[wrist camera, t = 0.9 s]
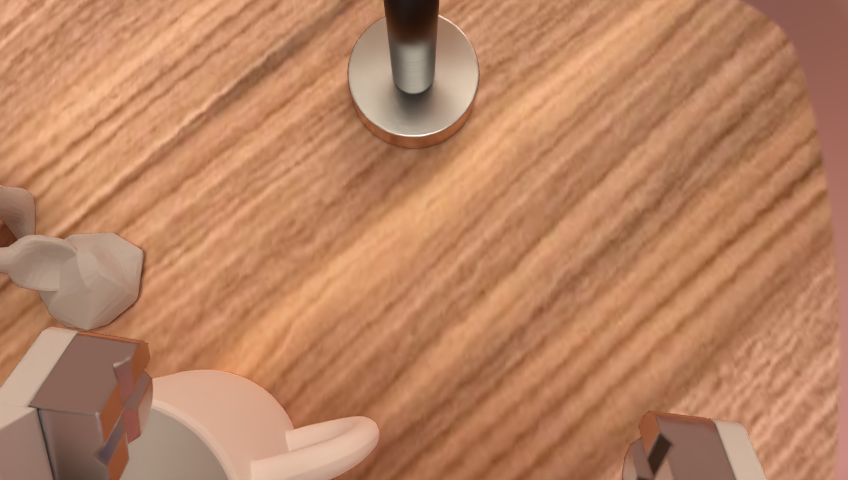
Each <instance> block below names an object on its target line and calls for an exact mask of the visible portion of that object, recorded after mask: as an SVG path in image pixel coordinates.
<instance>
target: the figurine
mask: <svg viewBox="0 0 848 480" xmlns="http://www.w3.org/2000/svg"><path fill="white" fill-rule="evenodd" d="M0 220H3V222H4V223H5V224H6V225H7V226H8V228H9V229H10V230H11V232H12V233H13V234H14V236H15V237H16V238H17V239H18V240H17V241H16V242H15V243H13V244H12V245H10V246H9V247H3V248H0V272H2V273H7V274H8V276H9V277H10V279H11V280H12V281H13V283H15V284H16V285H17V286H19V287H21V288H25V289H31V290H39V291H40V298H41V299H42V301H43V302H44V303H45V304H46V306H47V309H48V312H49V314H50V315H51V316H53V317H54V318H55V319H57V320H58V321H59V322H61V323H62V324H64V325H65V326H66V327H69V328H75V327H78V328H81V329H83V330H91V329H95V328H98V327H102V326H105V325H108V324H109V323H110V322H112V321H113V320H114V319H115V318H116V317H118V316H119V315H120V314H121V313H122V312H124V311H125V310H126V309H127V308H128V307H130V306H131V305H132V304H133V303H134V302H136V300H137V298H138V293H139V286H140V279H141V272H142V265H143V259H144V253H143V251H142V250H141V249H140V248H138V247H136V246H135V245H133V244H131V243H130V242H128V241H126V240H125V239H123V238H121V237H120V236H118V235H116V234H115V233H112V232H107V233H87V234H72V235H70V236H69V237H67V238H66V239H65V240H63V239H60V238H56V237H50V236H44V235H34V234H35V203H34V198H33V196H32V194H31V193H30V192H28V191H27V190H25V189H23V188H18V187H4V186H2V185H0Z"/></svg>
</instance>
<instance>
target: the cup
mask: <svg viewBox="0 0 848 480" xmlns="http://www.w3.org/2000/svg"><path fill="white" fill-rule="evenodd" d="M152 382H153V398H152V405H151V409H150V413H149V416H148V420H147V423H146V425H145V427H144V429H143V432H142V434H141V436H140V437H138V438H137V439H135V440H134V441H132V442H131V443H129V444H128V450H129V458H130V459H129V461H128V463H127V465H126V468H125V470H124V472H123V474H122V476H121V478H120V480H330V479H333V478H335V477H337V476H339V475H341V474H343V473H345V472H346V471H348V470H350V469H351V468H353V467H355V466H356V465H357V464H359V463H360V462H361V461H363V460H364V459H365V458H366V457H367V456H368V455H369V454H370V453H371V452H372V450H373V449H374V448H375V447H376V445H377V443H378V440H379V436H380V435H379V428H378V426H377V424H376V423H375V422H374V421H373V420H372V419H370V418H367V417H363V416H355V417H347V418H340V419H335V420H330V421H326V422H321V423H317V424H313V425H309V426H305V427H301V428H297V429H294V427H293V424H292V422H291V420H290V419H289V417H288V415H287V413H286V412H285V410H284V409H283V408H282V406H281V405H280V404H279V403H278V401H277V400H276V399H275V398H274V397H273V396H272V395H271V394H270V393H269V392H267V391H266V390H265V389H263V388H262V387H261V386H259V385H257V384H256V383H254V382H253V381H250V380H248V379H246V378H244V377H242V376H239V375H236V374H232V373H229V372H225V371H218V370H192V371H185V372H179V373H175V374H171V375H167V376H162V377H158V378H154V379H152Z"/></svg>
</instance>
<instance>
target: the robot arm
mask: <svg viewBox="0 0 848 480" xmlns="http://www.w3.org/2000/svg"><path fill="white" fill-rule="evenodd" d="M149 360H150V354H149V347H148V343H146V342H144V341H141V340H135V339H129V338H123V337H116V336H110V335H104V334H98V333H92V332H86V331H76V330H70V329H64V328H58V327H52V326H50V327H48V328H47V329H45V330H43V331H42V332H41V333H40V334H39V335H38V337H37V338H36V339H35V341H34V342H33V344H32V345H31V346H30V348H29V349H28V350H27V352H26V353H25V354H24V356H23V357H22V358H21V360H20V361H19V363H18V364H17V365H16V367H15V368H14V369H13V371H12V372H11V373H10V375H9V376H8V377H7V379H6V380H5V382H4V383H3V384H2V386H1V387H0V480H120V478H121V476H122V474H123V472H124V470H125V468H126V465H127V463H128V461H129V459H130V458H129V450H128V444H129V443H131V442H132V441H134V440H135V439H137V438H138V437H140V436H141V434H142V432H143V429H144V427H145V425H146V423H147V420H148V416H149V413H150V409H151V405H152V398H153V382H152V378H151V377H150V376H149V375H148V374H147V372H146V371H145V368H146V366H147V364H148V362H149ZM639 430H640V434H641V438H639V439H637V440H636V441H634V442H632V443H631V444H630V445H629V447H628V450H627V452H626V455H625V457H624V463H623V470H622V480H767V478H766V476H765V473H764V471H763V469H762V466H761V464H760V462H759V459H758V457H757V455H756V452H755V450H754V448H753V445H752V443H751V440H750V438H749V436H748V433H747V431H746V429H745V427H744V426H743V425H742V424H741V423H740V422H733V421H726V420H718V419H707V418H703V417H695V416H687V415H679V414H671V413H664V412H656V411H648V412H647V413H646V414H645V415H644V416H643V418H642V420H641V422H640V424H639Z"/></svg>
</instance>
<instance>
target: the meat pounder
mask: <svg viewBox="0 0 848 480" xmlns="http://www.w3.org/2000/svg"><path fill="white" fill-rule="evenodd" d="M384 7H385V17H383V18H381V19H379V20H378V21H376V22H374V23H373V24H372V25H371V26H369V27H368V28H367V29H366V30H365V31H364V32H363V34H362V35H361V36H360V37H359V39H358V40H357V42H356V44H355V46H354V48H353V50H352V52H351V55H350V59H349V63H348V73H347V74H348V85H349V90H350V93H351V96H352V99H353V103H354V106H355V108H356V111H357V113H358V115H359V117H360V119H361V120H362V122H363V123H364V125H365V126H366V127H367V128H368V129H369V130H370V131H371V132H372V133H373V134H375V135H376V136H377V137H379V138H380V139H382V140H384V141H386V142H388V143H390V144H393V145H396V146H399V147H404V148H423V147H428V146H432V145H435V144H438V143H440V142H442V141H444V140H446V139H448V138H449V137H451V136H452V135H453V134H454V133H456V132H457V131H458V130H459V129H460V128H461V127H462V125H463V124H464V123H465V121H466V120H467V118H468V117H469V115H470V113H471V111H472V108H473V105H474V102H475V98H476V94H477V90H478V85H479V74H480V73H479V63H478V59H477V55H476V52H475V50H474V48H473V46H472V44H471V42H470V40H469V39H468V37H467V36H466V35H465V34H464V32H463V31H462V30H461V29H460V28H459V27H458V26H456V25H455V24H454V23H453V22H451V21H449V20H448V19H446V18H444V17H442V16H440V15H438V12H439V0H384Z"/></svg>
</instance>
